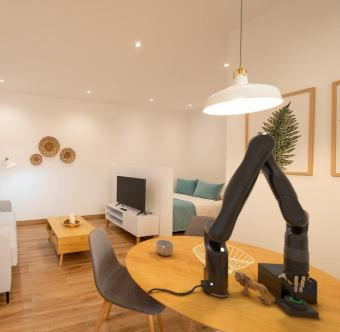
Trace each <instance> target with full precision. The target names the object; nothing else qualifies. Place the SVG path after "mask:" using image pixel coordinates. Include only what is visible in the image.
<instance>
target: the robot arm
mask: <svg viewBox="0 0 340 332" xmlns="http://www.w3.org/2000/svg"><path fill="white" fill-rule="evenodd" d="M276 144H277V143H276V139H275V138H274V137H273V135H271V134H269V133H264V132H263V133H258V134H256V135H253V136H252V137H251V138H250V139H249V140H248V142H247V144H246V152H245V154H244V156H243V159H242V161H241V163H240V164H239V165H238V166H237V168H236V169H235V171H234V172H233V174H232V175H231V177H230V179H229V181H228V182H227V184H226V186H225V188H224V191H223V195H222V201H221V207H220V209H219V213H218V214H217V216H216V218H209V219H208V220H206V221H205V223H204V225H203V246H204V251H205V253H204V254H205V255H204V258H205V259H204V267H203V279H200V284H198V285H195V286H193V287H192V288H191V289H190V290H189V291H186V292H175V291H173V290H171V289H167V288H156V287H155V288H151V289H149V290H148V291H147V294H151V293H152V292H153V291H162V292H168V293H171V294H174V295H177V296H178V295H179V296H185V295H189V294H191V293H193V292H194V291H195V290H196V289H198V288H201V289H202V290H203V292H206V293H207V294H208V295H209V296H214V297H216V298H227V297H229V290H230V285H229V249H228V247H227V242H228V241H229V240H230V238H231V237H232V235H233V232H234V230H235V227H236V223H237V221H238V219H239V216H240V215H241V213H242V211H243V209H244V207H245V205H246V203H247V202H248V199H249V198H250V196H251V193H253V190H254V188H255V185H256V184H257V181H258V179H259V176H260V173H262V174H263V176H264V178H265V180H266V183H267V185H268V187H269V189H270V191H271V193H272V196H273V197H274V199H275V201H276V202H277V205H278V208H279V210H280V213H281V216H282V218H283V220H284V222H285V231H284V236H283V237H284V238H283V239H284V240H283V241H284V242H283V254H282V255H283V257H282V259H283V260H282V261H283V263H282V264H283V265H284V270H283V274H281V275H277V277H278V278H279V280H280V281H281V282H282V283H283V284H284V286H285V287H287V288H288V289H289V290H291V297H292V299H294V300H295V301H300V300H301V292H302V291H307V290H308V289H309V288H310V287H311V286H312V285H313V284H314V283H315V282H316V281H317V280H316V279H315V278H313V277H312V276H310V250H309V246H310V245H309V243H310V242H309V225H310V215H309V213H308V211H307V210H306V209H304V208H303V206H302V204H301V203H300V200H299V196H298V194H297V191H296V190H295V188H294V186H293V183H292V182H291V180H290V179H289V177H288V175H286V173H285V172H284V171H283V169H282V168H281V167H280V166H279V164H278V162H277V161H276V159H275V156H274V152H273V151H274V150H275V149H276ZM286 277H287V279H288V282H289V283H288V282H287V281H286V280H287V279H286ZM305 285H306V286H305ZM304 286H305V287H304ZM142 332H144V331H142Z"/></svg>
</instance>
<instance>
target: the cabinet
mask: <svg viewBox="0 0 340 332" xmlns="http://www.w3.org/2000/svg"><path fill="white" fill-rule="evenodd" d="M283 270H284V265H283V263H274V262H273V263H271V262H257V283H259V284H262V285H264V286H265V287H266V289H267V290H268V292H269V293H270V294H272V295H273V296H274V298H285V296H287V295H289V296H291V290H289V289H288V288H287V287H285V286H284V284H283V283H282V282H281V281H280V280H279V278H278V277H277V275H281V274H283ZM286 279H287V277H286ZM286 281H287V282H288V279H287V280H286ZM288 283H289V282H288ZM305 286H306V285H305ZM305 286H304V287H305ZM301 299H302V300H304V301H305V302H307V304H308V305H318V281H317V280H316V282H315V283H314V284H313V285H312V286H311V287H310V288H309V289H308V290H307V291H302V292H301Z"/></svg>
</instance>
